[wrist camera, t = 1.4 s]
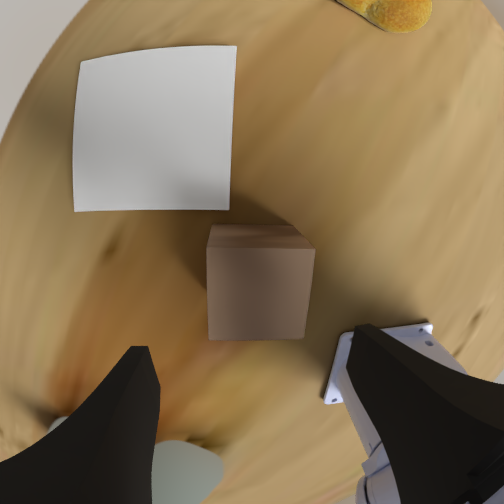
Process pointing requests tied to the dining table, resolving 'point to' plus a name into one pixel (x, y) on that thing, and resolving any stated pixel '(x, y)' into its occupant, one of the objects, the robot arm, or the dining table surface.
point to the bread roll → (393, 13)
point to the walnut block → (258, 282)
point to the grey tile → (154, 130)
